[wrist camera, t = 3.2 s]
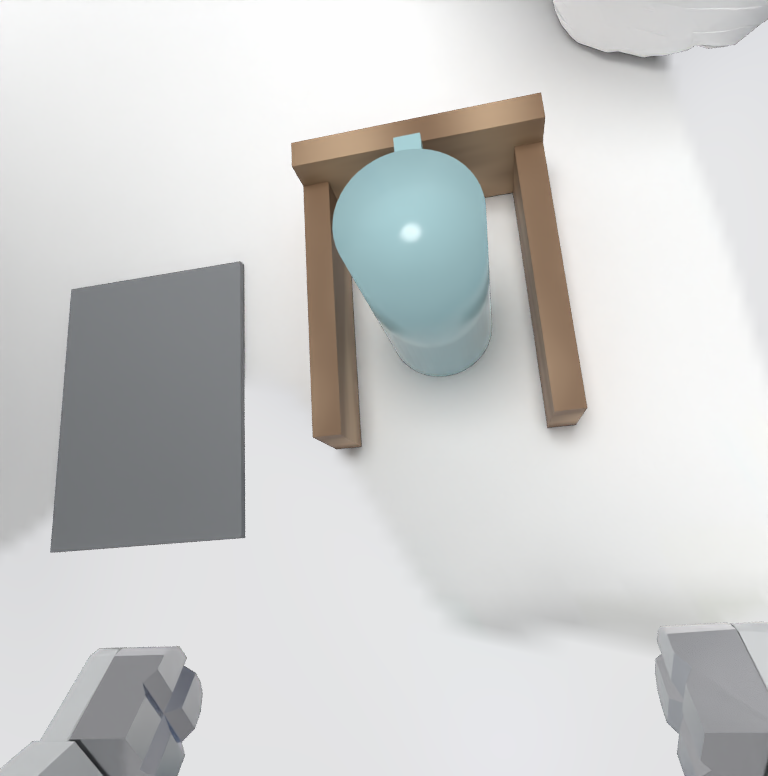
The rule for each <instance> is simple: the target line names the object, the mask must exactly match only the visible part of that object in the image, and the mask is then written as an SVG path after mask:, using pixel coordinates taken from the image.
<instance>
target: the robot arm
mask: <svg viewBox="0 0 768 776" xmlns="http://www.w3.org/2000/svg"><path fill="white" fill-rule="evenodd" d="M657 642H658V645H659V648H660V651H661V653H662V654H661V655H660V656H658V657H657V658H656V664H655V674H656V682H657V689H658V694H659V698H660V702H661V705H662V709H663V712H664V715H665V718H666V721H667V723H668V724H669V725H670V726H671V727H672V728H673V729H674V730H675V731H676V732H677V733H679V741H678V751H677V755H678V758H679V760H680V763H681V766H682V769H683V772H684V775H685V776H768V623H767V622H748V623H732V624H728V623H709V624H692V625H674V626H661V627H660V628H659V630H658V636H657ZM186 659H187V657H186V656H185V654H184V652H183V651H182V649H181V648H180V647H178V646H177V647H137V648H127V647H126V648H125V647H124V648H100V649H98V650H97V651H96V652H94V653H93V654H92V655H91V656H90V657H89V658H88V660H87V662H86V663H85V665H84V667H83V669H82V670H81V672H80V674H79V675H78V677H77V679H76V680H75V682H74V684H73V685H72V687H71V689H70V691H69V692H68V694H67V696H66V697H65V699H64V701H63V703H62V704H61V706H60V708H59V709H58V711H57V713H56V714H55V716H54V718H53V719H52V721H51V723H50V725H49V726H48V728H47V730H46V731H45V733H44V735H43V737H42V738H41V740H40V741H32V742H31V743H30V744H29V745H28V746H26V747H25V748H24V749H23V750H22V751H20V752H19V753H18V754H17V755H16V756H15V757H13V758H12V759H11V760H10V761H9V762H7V763H6V764H5V765H4V766H3V767H2V768H0V776H177V775H178V773H179V770H180V767H181V764H182V762H183V759H184V756H185V754H184V750H183V746H182V741H183V740H184V739H185V738H186V737H187V736H188V735H189V734H190V733H191V732H192V731H193V730H194V729H195V726H196V724H197V720H198V718H199V715H200V712H201V703H202V688H201V682H200V680H199V678H198V676H197V674H196V673H195V672H193V671H191V670H190V669H188V668H187V667H185V666H184V663H185V661H186Z"/></svg>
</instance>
